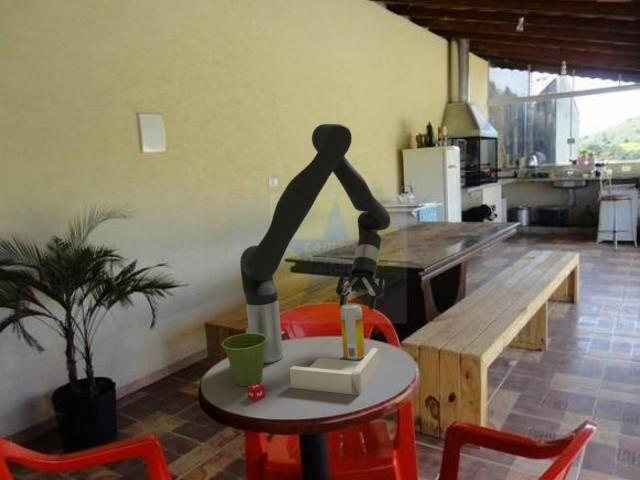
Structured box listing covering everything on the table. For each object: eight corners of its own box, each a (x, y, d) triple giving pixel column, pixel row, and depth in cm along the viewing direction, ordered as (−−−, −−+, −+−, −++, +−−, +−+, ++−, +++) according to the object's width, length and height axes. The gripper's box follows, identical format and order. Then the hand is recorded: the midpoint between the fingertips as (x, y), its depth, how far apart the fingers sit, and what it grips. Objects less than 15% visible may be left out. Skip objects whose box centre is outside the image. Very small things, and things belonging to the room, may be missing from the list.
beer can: (365, 352, 147) (361, 302, 145) (364, 360, 141) (361, 308, 139) (344, 353, 147) (340, 303, 145) (343, 361, 141) (339, 309, 139)
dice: (258, 394, 125) (257, 382, 124) (265, 397, 122) (264, 385, 122) (248, 398, 123) (246, 386, 122) (255, 401, 120) (254, 390, 120)
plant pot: (221, 378, 135) (216, 338, 134) (263, 368, 140) (259, 330, 139) (232, 395, 125) (227, 352, 123) (277, 384, 129) (273, 342, 128)
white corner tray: (291, 387, 127) (289, 368, 126) (318, 360, 143) (317, 344, 142) (359, 395, 120) (357, 375, 119) (379, 366, 136) (378, 348, 135)
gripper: (340, 255, 155) (329, 301, 146) (385, 255, 150) (376, 303, 141) (347, 269, 161) (337, 314, 152) (390, 269, 155) (382, 316, 147)
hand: (356, 308), depth 147 cm, fingers open, 8 cm apart
